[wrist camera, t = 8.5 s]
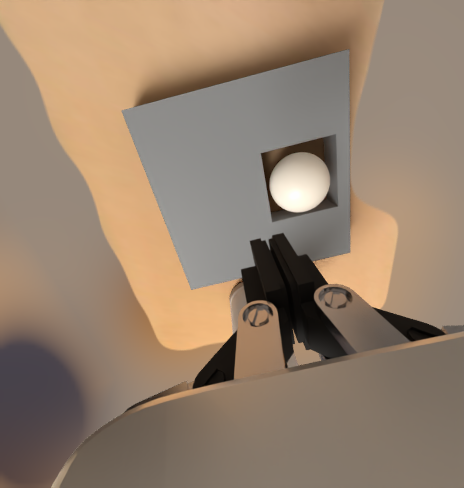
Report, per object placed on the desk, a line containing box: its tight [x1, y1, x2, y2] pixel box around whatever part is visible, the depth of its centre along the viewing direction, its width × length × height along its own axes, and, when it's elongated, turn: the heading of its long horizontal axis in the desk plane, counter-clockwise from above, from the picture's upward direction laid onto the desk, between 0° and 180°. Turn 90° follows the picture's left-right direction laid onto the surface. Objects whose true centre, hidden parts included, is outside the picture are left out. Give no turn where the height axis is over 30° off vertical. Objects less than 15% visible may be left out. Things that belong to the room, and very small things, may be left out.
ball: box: [269, 152, 330, 212], centre depth 24 cm, size 6×6×6 cm
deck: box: [122, 49, 350, 290], centre depth 26 cm, size 20×20×3 cm
